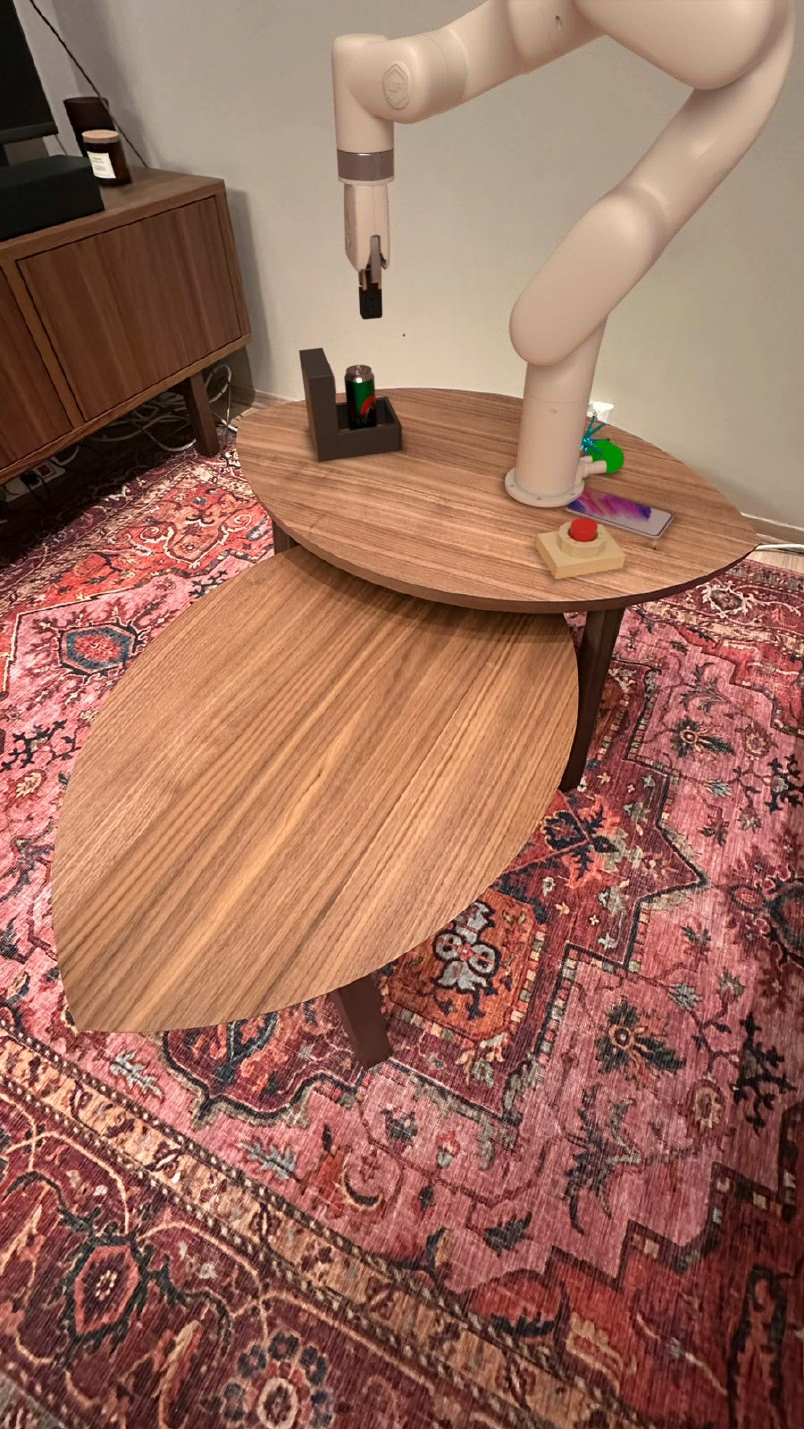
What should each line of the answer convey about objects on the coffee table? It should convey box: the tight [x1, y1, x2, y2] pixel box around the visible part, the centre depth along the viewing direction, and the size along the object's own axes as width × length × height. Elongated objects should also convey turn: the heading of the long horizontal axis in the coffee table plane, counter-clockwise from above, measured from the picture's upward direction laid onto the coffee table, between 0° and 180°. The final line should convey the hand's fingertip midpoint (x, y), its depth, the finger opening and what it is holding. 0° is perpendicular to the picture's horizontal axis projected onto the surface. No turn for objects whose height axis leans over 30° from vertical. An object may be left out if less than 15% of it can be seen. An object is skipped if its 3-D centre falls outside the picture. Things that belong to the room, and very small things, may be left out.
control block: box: [534, 520, 627, 580], centre depth 96 cm, size 10×8×4 cm
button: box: [569, 517, 598, 542], centre depth 94 cm, size 4×4×2 cm
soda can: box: [343, 364, 378, 430], centre depth 118 cm, size 5×5×12 cm
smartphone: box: [564, 487, 675, 540], centre depth 105 cm, size 7×1×15 cm
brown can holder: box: [298, 347, 403, 463], centre depth 117 cm, size 15×12×14 cm
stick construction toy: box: [580, 414, 625, 474], centre depth 114 cm, size 12×7×8 cm
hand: (371, 316), depth 104 cm, fingers closed
